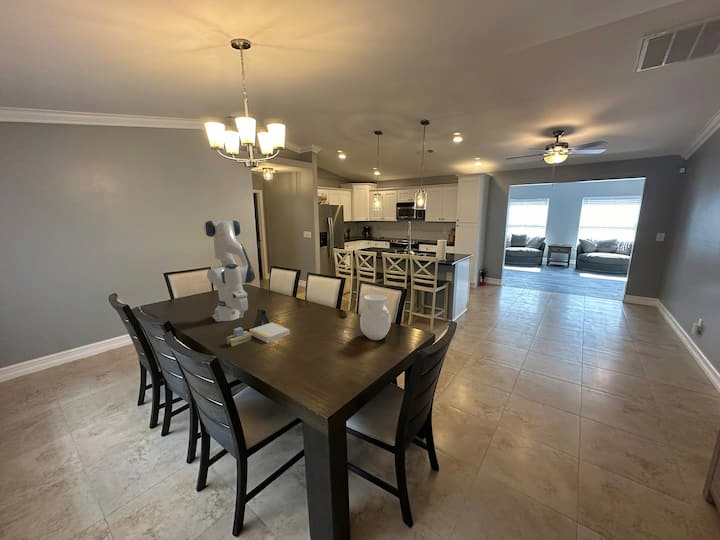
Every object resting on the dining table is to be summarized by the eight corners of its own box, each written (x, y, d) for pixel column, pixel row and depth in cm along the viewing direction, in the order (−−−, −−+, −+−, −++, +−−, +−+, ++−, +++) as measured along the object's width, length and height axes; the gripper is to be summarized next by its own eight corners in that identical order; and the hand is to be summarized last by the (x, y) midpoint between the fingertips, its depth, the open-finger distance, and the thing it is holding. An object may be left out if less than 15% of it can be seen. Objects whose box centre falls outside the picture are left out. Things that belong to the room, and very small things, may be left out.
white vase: (374, 328, 185) (374, 291, 180) (397, 336, 172) (397, 296, 167) (353, 337, 172) (352, 297, 167) (376, 346, 159) (376, 303, 154)
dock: (249, 334, 178) (249, 329, 178) (271, 326, 190) (271, 321, 190) (267, 342, 165) (266, 337, 165) (290, 334, 177) (289, 329, 177)
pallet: (227, 343, 166) (226, 337, 165) (246, 336, 175) (246, 330, 174) (232, 346, 162) (231, 340, 161) (251, 339, 171) (251, 333, 170)
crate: (234, 335, 167) (233, 329, 167) (240, 333, 170) (240, 327, 170) (237, 337, 165) (236, 330, 164) (243, 335, 168) (243, 328, 167)
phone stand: (258, 329, 185) (256, 312, 183) (254, 327, 189) (252, 310, 187) (270, 325, 191) (269, 308, 189) (266, 323, 196) (265, 307, 193)
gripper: (221, 291, 167) (223, 313, 169) (238, 296, 154) (240, 320, 156) (231, 289, 172) (234, 310, 174) (249, 294, 159) (251, 317, 161)
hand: (237, 315), depth 165 cm, fingers open, 8 cm apart
